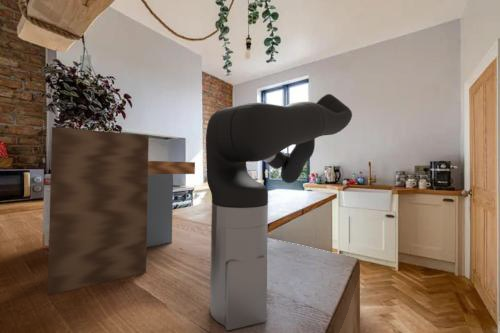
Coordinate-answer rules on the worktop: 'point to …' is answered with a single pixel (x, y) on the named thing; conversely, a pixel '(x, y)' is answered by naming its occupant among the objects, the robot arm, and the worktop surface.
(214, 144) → the robot arm
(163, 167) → the brown bar
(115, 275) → the walnut pedestal
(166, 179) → the slate pedestal
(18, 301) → the worktop surface
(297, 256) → the worktop surface
